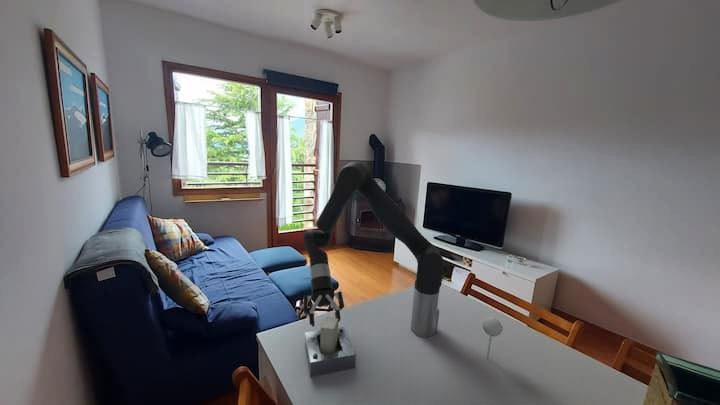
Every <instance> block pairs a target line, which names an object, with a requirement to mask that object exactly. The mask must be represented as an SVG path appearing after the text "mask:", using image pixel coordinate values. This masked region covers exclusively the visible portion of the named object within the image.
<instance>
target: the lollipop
mask: <svg viewBox="0 0 720 405" xmlns="http://www.w3.org/2000/svg"><path fill="white" fill-rule="evenodd" d="M481 324H482V330H484V332H485V334H487V335H488V336H489V340H488V341H489V342H488V346H487V354H486V360H488V359H489V354H490V347H491V342H492V337H498V336H500V335H501V334H502V333H503V331H504V330H503V329H504V327H503V325H502V323H501V321H500V320H499V319H497V318H496V317H492V316H489V317H486V318H485V319H483V321H482V323H481Z"/></svg>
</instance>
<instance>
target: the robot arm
mask: <svg viewBox="0 0 720 405" xmlns="http://www.w3.org/2000/svg"><path fill="white" fill-rule="evenodd" d="M357 190H358V192H359V193H360V194H361V195H362V196H363V197H364V198H365V200H366V201H367V203H368V205H369V207H370V209H371V211H372V213H373V215H374V217H375V218H376V220H377V221H378V223H379V224H380V225H381V226H382V227H383V229H385V230H386V232H388V234H390V235H391V236H393V237H394V238H395V239H396V240H398V241H400V242H401V243H402V244H404V245H405V246H406V247H407V249H408V250H409V251H410V252H411V254H412V255H413V257H414V258H415V259H416V262H417V269H416V279H415V280H414V287H413V288H414V289H413V298H412V308H411V310H412V311H411V320H410V330H411V331H412V333H413V334H415V335H416V336H418V337H422V338H429V337H432V336H434V335H435V333H438V326H439V317H440V309H439V296H440V289H441V286H442V283H443V276H444V270H445V261H444V258H443V256H442V254H441V252H440V250H439V249H438V248H437V247H436V246H435V245H434V244H433V243H432V242H430V240H428V239H427V238H426V237H425V236H424V235H423V234H422V233H421V232H420V231H419V230H418V228H417V226H415V224H414V223H413V221H412V220H411V219H410V218H409V217H408V215H407V213H405V212H404V210H402V208H401V207H400V206H399V205H398V204H397V203H396V202H395V201H394V200H393V199H392V197H390V195H389V194H388V193H387V192H386V191H385V190H384V189H383V188H382V187H381V186H380V185H379V184H378V182H377V181H376V180H375V178H374V177H373V175H372V174H371V173H370V171H369V170H368V169H367V167H366V166H365V165H364V164H363V163H361V162H359V161H351V162H349V163H347V164H346V165H344V166H342V168H341V169H340V170H339V173H338V175H337V178H336V181H335V185H334V187H333V190H332V193H331V194H330V196H329V198H328V201H327V203H326V204H325V206H324V207H323V209H322V211H321V213H320V215H319V216H318V218H317V221H316V223H315V225H316V228H317V229H318V230H317V229H308V230H306V231H305V232H304V234H303V245H304V248H305V250H306V252H307V255H308V258H309V268H310V276H309V277H310V278H309V279H310V286H311V287H310V288H311V295H307V294H304V295H303V300H302V303H303V307H302V308H303V311H302V313H303V314H304V315H307V316H308V318H309V319H308V320H309V325H310V326H311V327H315V314H314V312H315V310H316V308H317V307H318V308H322V307H330V308H332V309H333V310H334V315H335V316H334V318H338V324H339V323H340V321H341V311H342V310H343V309H344V308H345V304H344V303H345V302H344V298H343V293H342V291H341V290H340V291H338V292H334V290H333V283H332V277H331V276H332V275H331V269H330V266H329V256H328V254H327V252H326V251H325V250H322V249H324V248H326V247H328V246H329V244H330V242H331V237H332V233H333V229H334V227H335V226H336V224H337V223H338V220H339V219H340V218H341V215H342V213H343V210H344V207H345V205H346V204H347V202H348V200H349V199H350V197H351V196H352V195H353V194H354V193H355V192H356V191H357ZM334 297H335V299H336V300H337V301H338V304H337V303H336V301H334ZM310 300H312V302H313V304H312V307H311V308H310V309H309V307H308V303H309V302H310Z"/></svg>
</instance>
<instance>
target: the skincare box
mask: <svg viewBox="0 0 720 405" xmlns="http://www.w3.org/2000/svg"><path fill="white" fill-rule="evenodd" d="M338 327H339V323H338V318H335V317H330V316H325V318H324V320H323V323H322V324H321V326H320V330H321V335H320V348H319V349H320V353H321V354H326V353H332V352H338V350H337V345H338Z"/></svg>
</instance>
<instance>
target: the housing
mask: <svg viewBox="0 0 720 405" xmlns="http://www.w3.org/2000/svg"><path fill="white" fill-rule="evenodd" d="M320 335H321V329H319V330H313V331H312V330H311V331H306V332H304V349H305V354H306V360H307V366H308V372H309V377H310V378H313V377H318V376H323V375H327V374H333V373H337V372H343V371H348V370H352V369H356V355H357V353H356V351H355V348H354V347H353V344H352V341H351V339H350V337H349V336H350V335H349V334H348V332H347V329H346V327H345V326H341V327H339V326H338V345H337V352H332V353H326V354H321V353H320Z"/></svg>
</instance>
